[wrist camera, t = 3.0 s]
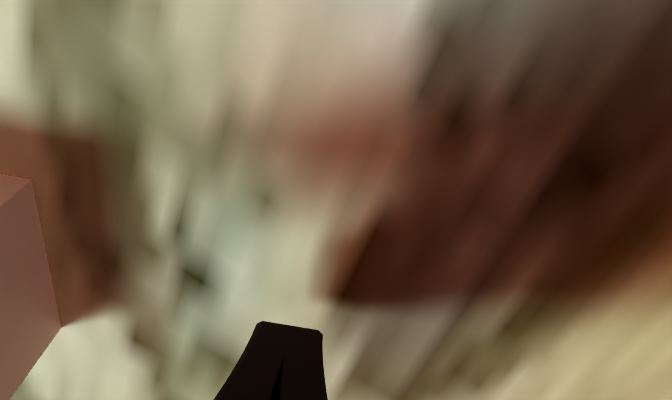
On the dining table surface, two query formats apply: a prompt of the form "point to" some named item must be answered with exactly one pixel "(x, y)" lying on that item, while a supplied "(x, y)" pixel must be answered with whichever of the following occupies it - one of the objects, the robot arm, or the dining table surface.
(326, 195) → the dining table surface
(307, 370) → the robot arm
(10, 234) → the pink stepped block
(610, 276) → the dining table surface
